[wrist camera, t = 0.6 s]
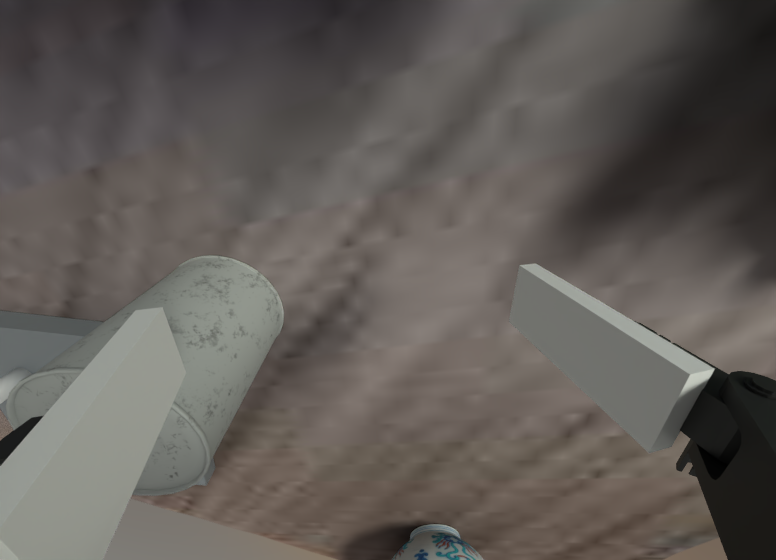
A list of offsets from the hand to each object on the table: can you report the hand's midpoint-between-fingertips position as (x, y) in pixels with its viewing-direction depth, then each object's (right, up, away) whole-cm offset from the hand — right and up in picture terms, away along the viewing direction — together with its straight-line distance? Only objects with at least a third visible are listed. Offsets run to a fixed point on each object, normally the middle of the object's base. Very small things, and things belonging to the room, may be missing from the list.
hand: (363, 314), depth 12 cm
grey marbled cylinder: (-12, -1, +15) cm, 19 cm away
